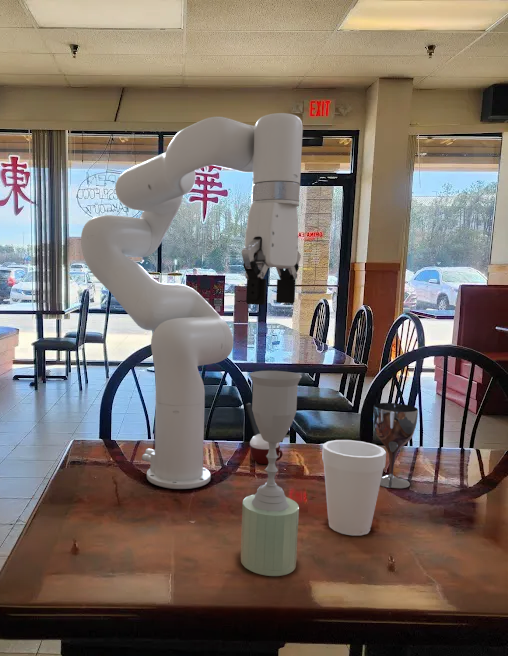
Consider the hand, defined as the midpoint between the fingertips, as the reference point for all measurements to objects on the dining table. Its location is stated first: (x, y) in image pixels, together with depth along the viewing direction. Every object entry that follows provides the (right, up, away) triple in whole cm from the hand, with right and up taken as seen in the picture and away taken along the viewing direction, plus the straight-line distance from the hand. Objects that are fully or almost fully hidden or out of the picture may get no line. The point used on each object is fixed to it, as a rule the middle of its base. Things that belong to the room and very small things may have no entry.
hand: (271, 303), depth 94 cm
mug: (-3, -37, -13) cm, 39 cm away
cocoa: (+4, -32, +30) cm, 44 cm away
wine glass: (+27, -34, +19) cm, 47 cm away
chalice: (-3, -29, -15) cm, 33 cm away
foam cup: (+12, -36, -2) cm, 38 cm away
